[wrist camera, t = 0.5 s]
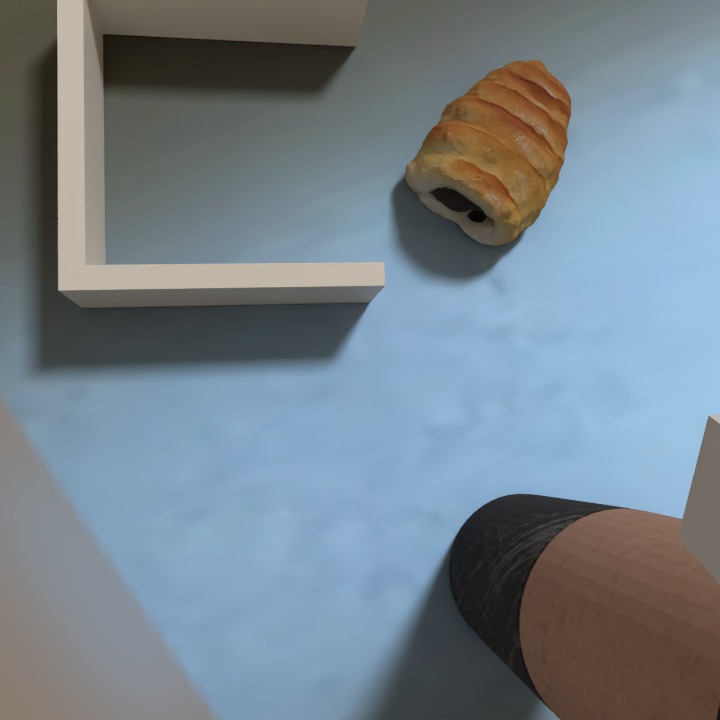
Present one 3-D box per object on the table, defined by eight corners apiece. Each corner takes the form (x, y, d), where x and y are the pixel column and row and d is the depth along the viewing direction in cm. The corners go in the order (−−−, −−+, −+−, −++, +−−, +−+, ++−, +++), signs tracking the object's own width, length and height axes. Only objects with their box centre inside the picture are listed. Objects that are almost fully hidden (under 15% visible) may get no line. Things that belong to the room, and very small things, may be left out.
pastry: (482, 50, 33) (513, 2, 29) (586, 125, 34) (629, 86, 30) (390, 191, 31) (410, 158, 28) (501, 267, 32) (535, 245, 28)
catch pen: (370, 302, 30) (385, 285, 27) (81, 307, 28) (58, 290, 25) (354, 27, 32) (366, -22, 28) (80, 12, 29) (57, -43, 26)
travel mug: (482, 683, 29) (957, 1203, 9) (416, 528, 29) (743, 719, 10) (619, 608, 31) (1274, 922, 11) (555, 461, 31) (1081, 510, 11)
